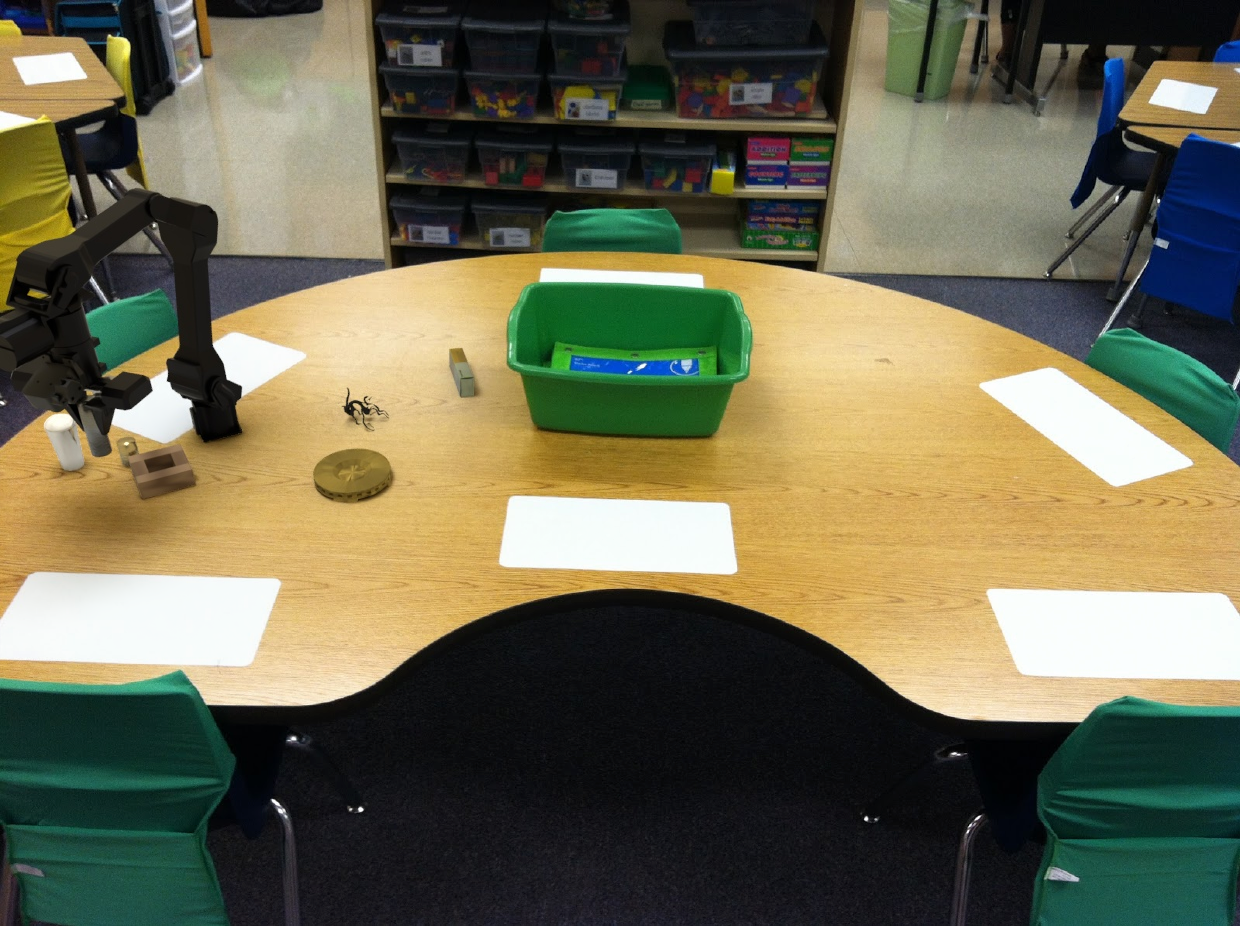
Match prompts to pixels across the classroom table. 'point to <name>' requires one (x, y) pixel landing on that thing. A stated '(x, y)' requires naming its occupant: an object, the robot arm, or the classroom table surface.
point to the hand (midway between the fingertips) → (96, 432)
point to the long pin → (93, 429)
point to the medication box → (461, 372)
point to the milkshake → (65, 440)
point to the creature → (363, 409)
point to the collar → (161, 471)
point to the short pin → (127, 449)
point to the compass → (352, 474)
